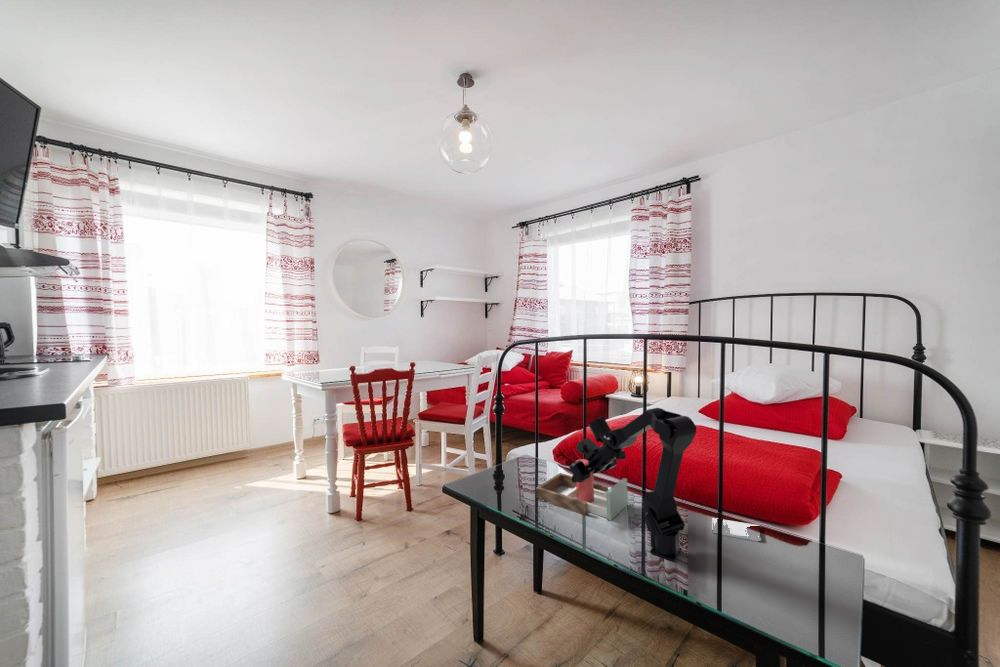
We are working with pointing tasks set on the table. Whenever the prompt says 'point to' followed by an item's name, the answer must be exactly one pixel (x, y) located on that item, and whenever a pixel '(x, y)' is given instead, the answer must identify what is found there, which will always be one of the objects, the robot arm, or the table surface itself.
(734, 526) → the external hard drive
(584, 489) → the pink cylinder
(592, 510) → the tray
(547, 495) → the drawer
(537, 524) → the table surface
